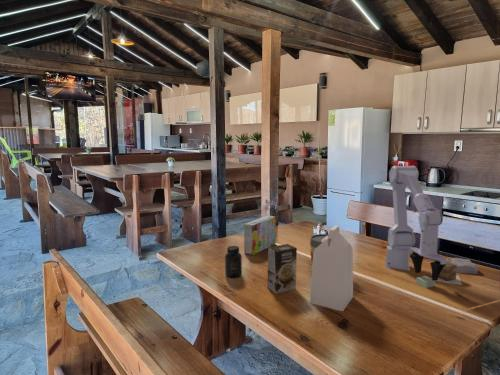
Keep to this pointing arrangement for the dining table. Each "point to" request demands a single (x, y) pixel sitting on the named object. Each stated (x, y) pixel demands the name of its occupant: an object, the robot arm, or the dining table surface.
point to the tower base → (447, 276)
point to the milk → (332, 272)
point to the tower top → (449, 268)
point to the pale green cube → (425, 282)
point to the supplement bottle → (233, 262)
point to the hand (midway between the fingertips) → (426, 276)
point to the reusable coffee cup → (316, 242)
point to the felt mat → (456, 281)
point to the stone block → (464, 265)
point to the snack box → (259, 235)
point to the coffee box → (282, 268)
